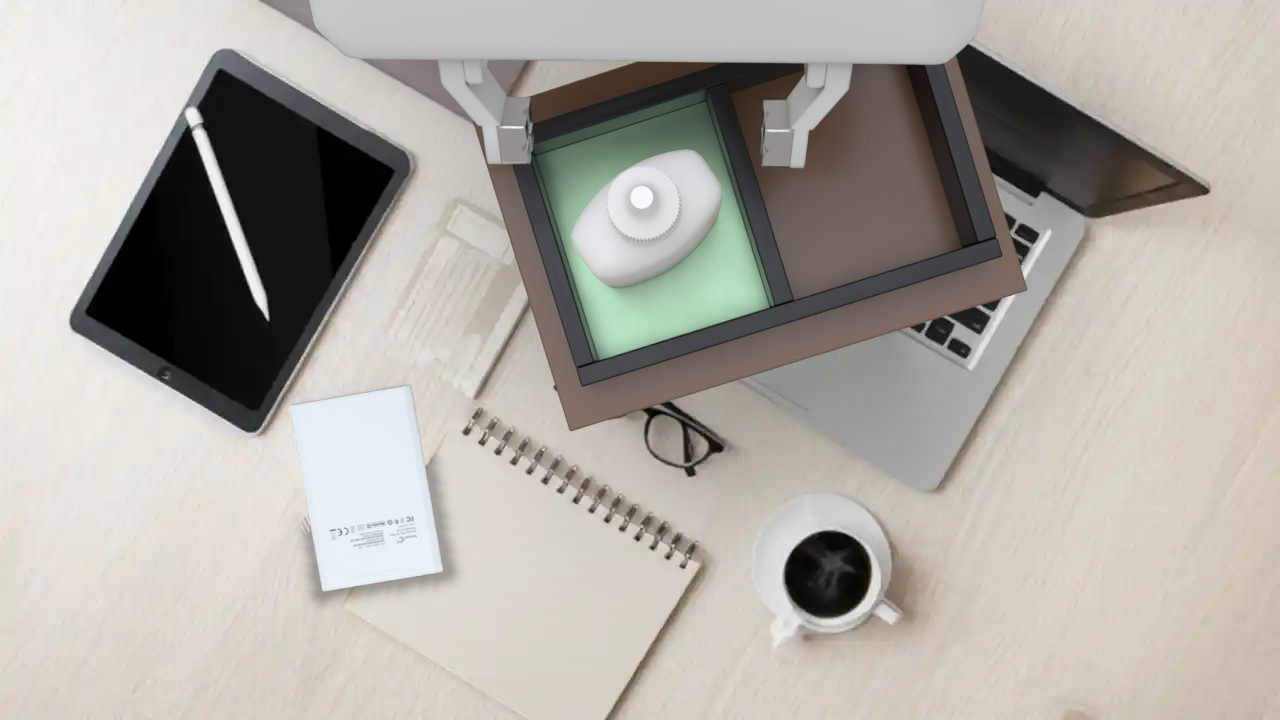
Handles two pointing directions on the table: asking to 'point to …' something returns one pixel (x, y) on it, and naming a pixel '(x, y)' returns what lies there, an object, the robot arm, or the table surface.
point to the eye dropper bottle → (648, 218)
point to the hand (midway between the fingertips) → (645, 156)
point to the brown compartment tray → (754, 226)
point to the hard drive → (366, 488)
